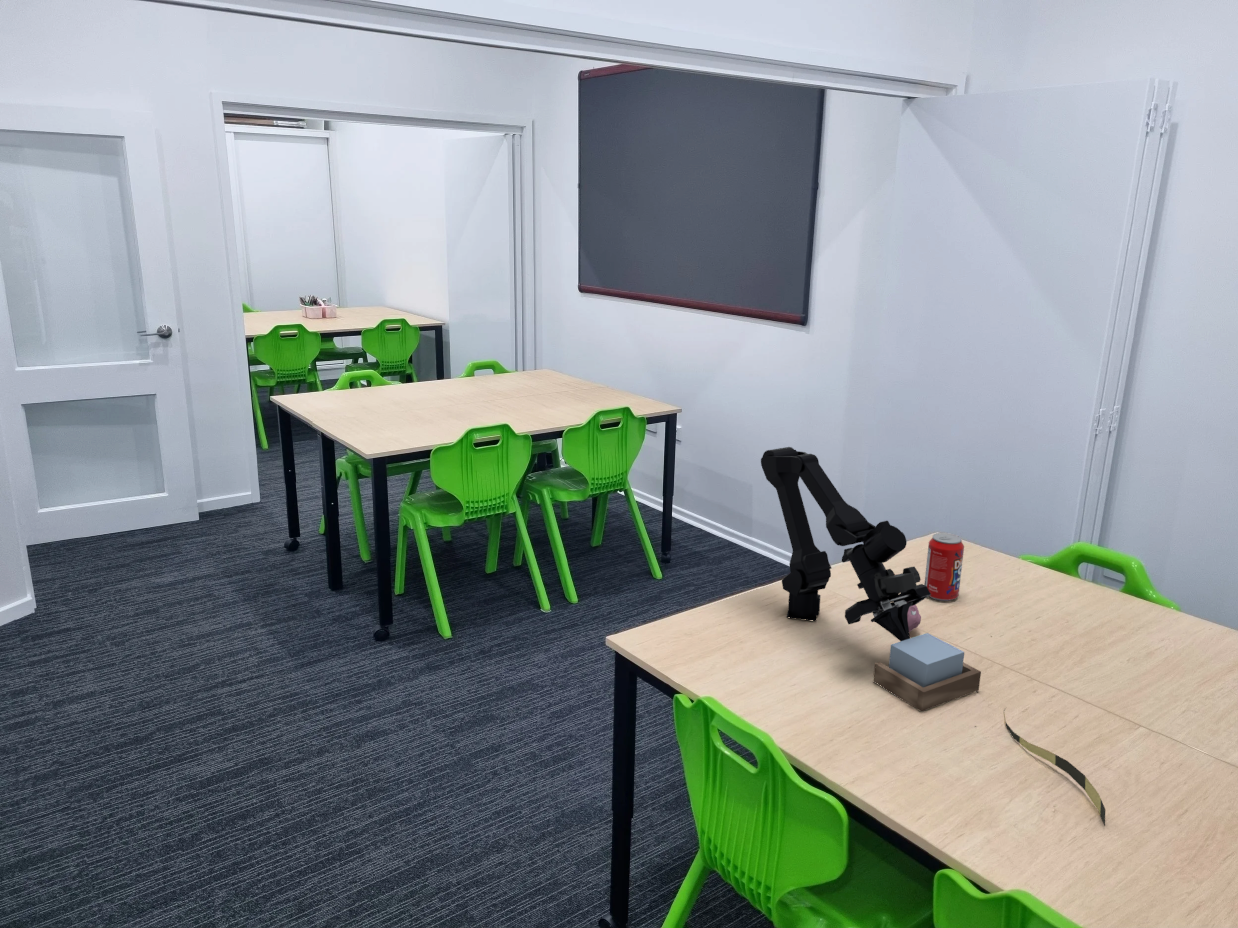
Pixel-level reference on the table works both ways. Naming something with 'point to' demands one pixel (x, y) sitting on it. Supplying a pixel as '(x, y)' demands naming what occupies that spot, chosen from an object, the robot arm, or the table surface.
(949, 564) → the soda can
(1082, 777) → the tape
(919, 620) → the video game controller
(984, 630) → the table surface
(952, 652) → the slate block
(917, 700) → the walnut bay
